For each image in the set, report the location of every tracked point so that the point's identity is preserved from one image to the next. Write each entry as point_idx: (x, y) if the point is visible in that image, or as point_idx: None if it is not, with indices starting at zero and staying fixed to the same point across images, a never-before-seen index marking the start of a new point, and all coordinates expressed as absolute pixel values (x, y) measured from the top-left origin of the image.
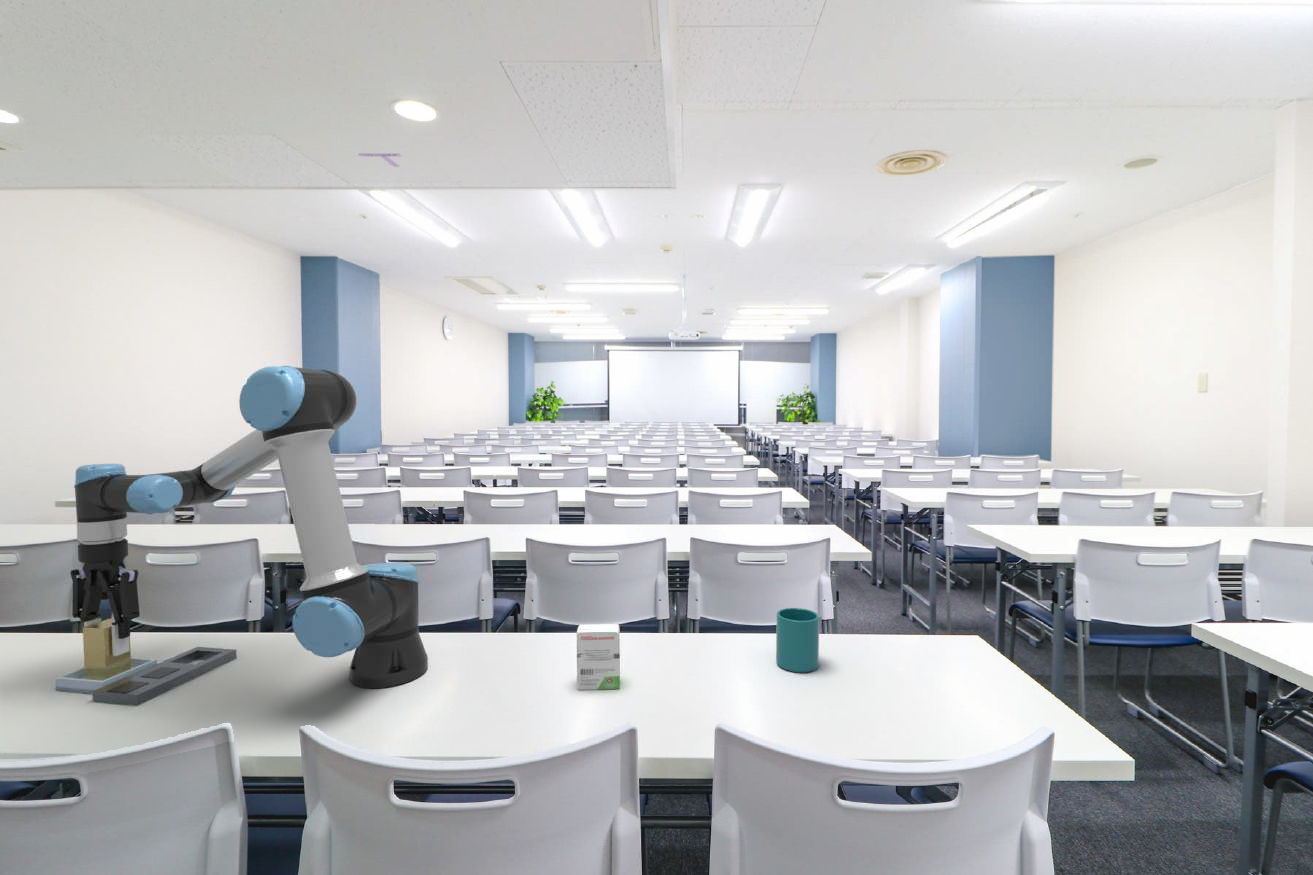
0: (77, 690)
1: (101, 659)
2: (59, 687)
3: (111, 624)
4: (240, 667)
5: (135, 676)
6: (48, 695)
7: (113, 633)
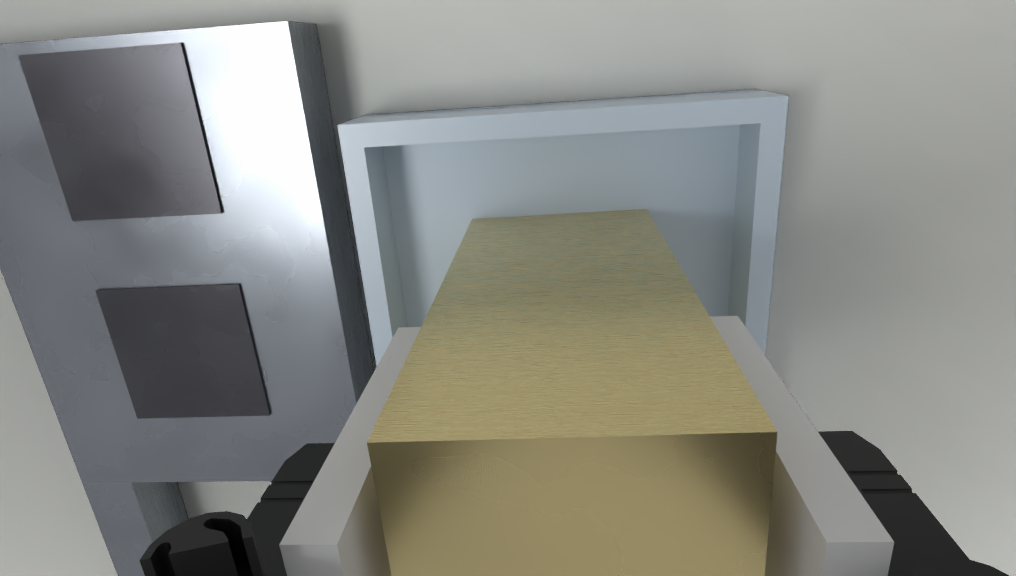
0: (565, 102)
1: (487, 272)
2: (727, 93)
3: (341, 542)
4: (40, 538)
5: (276, 277)
6: (725, 16)
7: (352, 454)
